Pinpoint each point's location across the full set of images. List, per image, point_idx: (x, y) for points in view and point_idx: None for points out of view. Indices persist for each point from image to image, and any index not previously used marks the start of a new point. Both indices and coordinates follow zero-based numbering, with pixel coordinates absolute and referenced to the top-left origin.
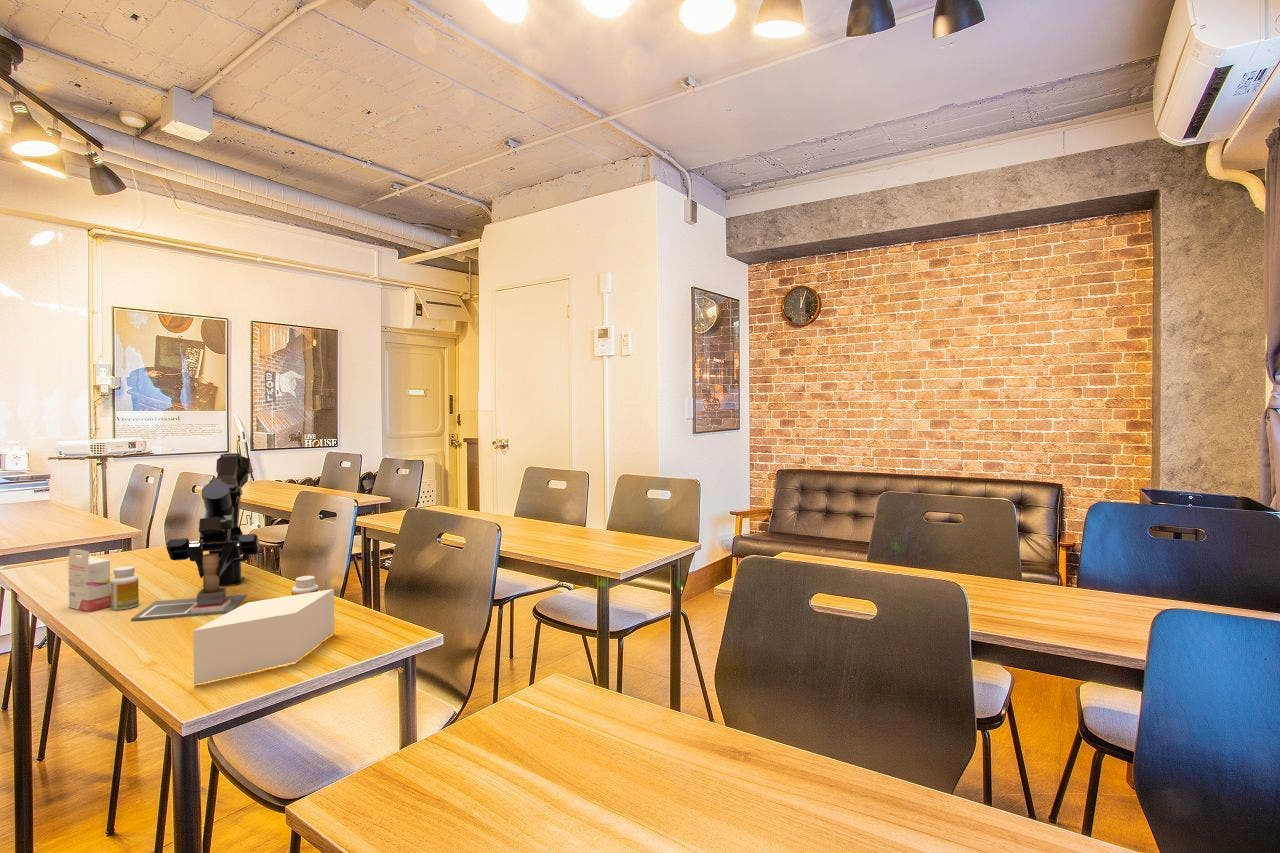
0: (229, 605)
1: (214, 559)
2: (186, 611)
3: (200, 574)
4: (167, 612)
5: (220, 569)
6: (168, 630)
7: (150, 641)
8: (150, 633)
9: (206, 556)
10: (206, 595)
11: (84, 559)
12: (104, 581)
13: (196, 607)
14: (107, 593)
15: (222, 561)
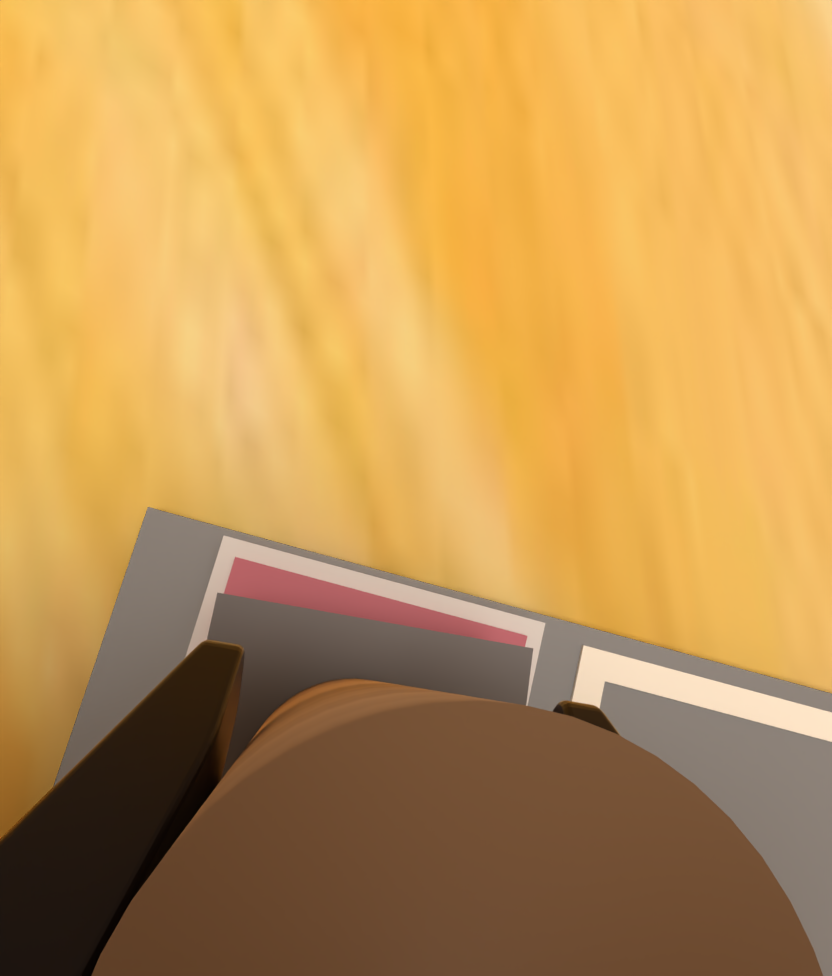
0: None
1: (290, 730)
2: None
3: (592, 722)
4: (758, 813)
5: (151, 709)
6: (665, 250)
7: (748, 41)
8: (784, 249)
9: (653, 803)
10: (410, 631)
11: None
12: None
13: (496, 634)
14: None
15: (9, 928)
